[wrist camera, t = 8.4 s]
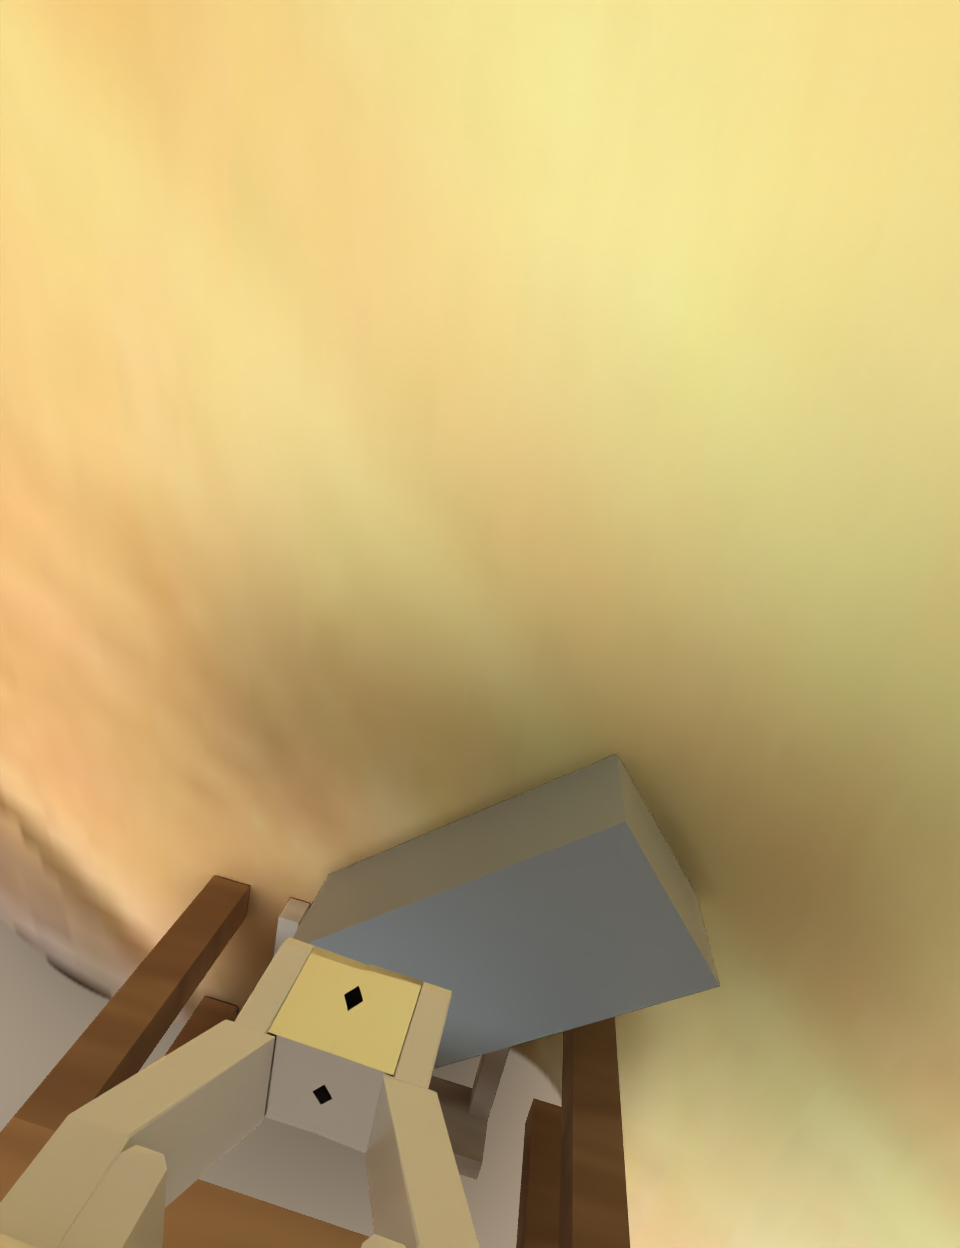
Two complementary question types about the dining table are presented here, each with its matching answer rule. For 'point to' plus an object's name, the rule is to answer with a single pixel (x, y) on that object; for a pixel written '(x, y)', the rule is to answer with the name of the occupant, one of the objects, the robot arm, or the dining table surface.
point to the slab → (527, 913)
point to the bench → (554, 1136)
